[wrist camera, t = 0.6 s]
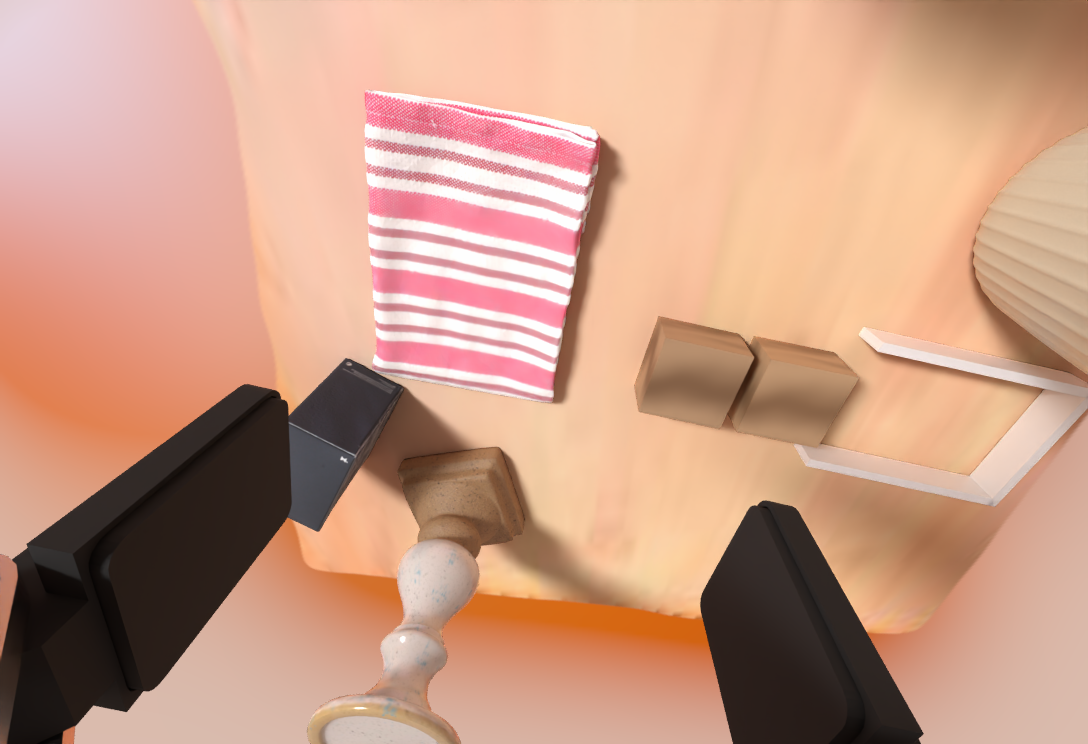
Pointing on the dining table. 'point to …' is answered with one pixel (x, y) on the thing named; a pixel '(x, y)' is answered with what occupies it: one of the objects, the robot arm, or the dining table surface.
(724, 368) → the tile
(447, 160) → the dish towel
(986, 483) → the tray
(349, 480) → the small box
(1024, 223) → the canister
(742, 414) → the tile
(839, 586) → the robot arm
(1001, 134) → the dining table surface
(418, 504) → the candle holder
